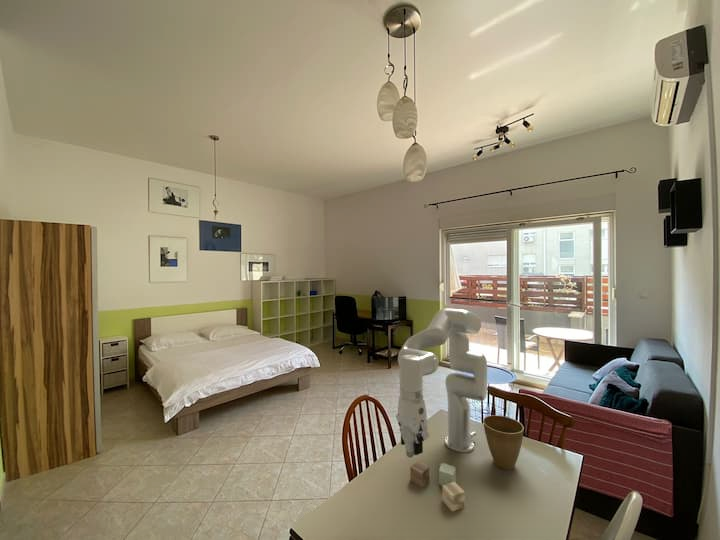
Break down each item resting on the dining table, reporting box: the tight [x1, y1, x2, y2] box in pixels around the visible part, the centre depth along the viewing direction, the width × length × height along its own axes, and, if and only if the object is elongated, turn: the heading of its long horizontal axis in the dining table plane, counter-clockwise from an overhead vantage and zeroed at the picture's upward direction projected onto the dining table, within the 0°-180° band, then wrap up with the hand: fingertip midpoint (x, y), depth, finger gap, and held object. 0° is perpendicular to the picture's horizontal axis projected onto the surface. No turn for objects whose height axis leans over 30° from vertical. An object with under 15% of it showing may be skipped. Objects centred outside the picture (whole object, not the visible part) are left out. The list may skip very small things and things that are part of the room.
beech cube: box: [441, 481, 466, 512], centre depth 96 cm, size 5×5×5 cm
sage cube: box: [438, 462, 457, 486], centre depth 106 cm, size 5×5×5 cm
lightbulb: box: [400, 426, 420, 459], centre depth 95 cm, size 6×6×11 cm
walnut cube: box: [409, 460, 430, 488], centre depth 107 cm, size 5×5×5 cm
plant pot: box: [482, 414, 525, 470], centre depth 117 cm, size 15×15×16 cm
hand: (411, 447), depth 95 cm, fingers closed on lightbulb, 5 cm apart
